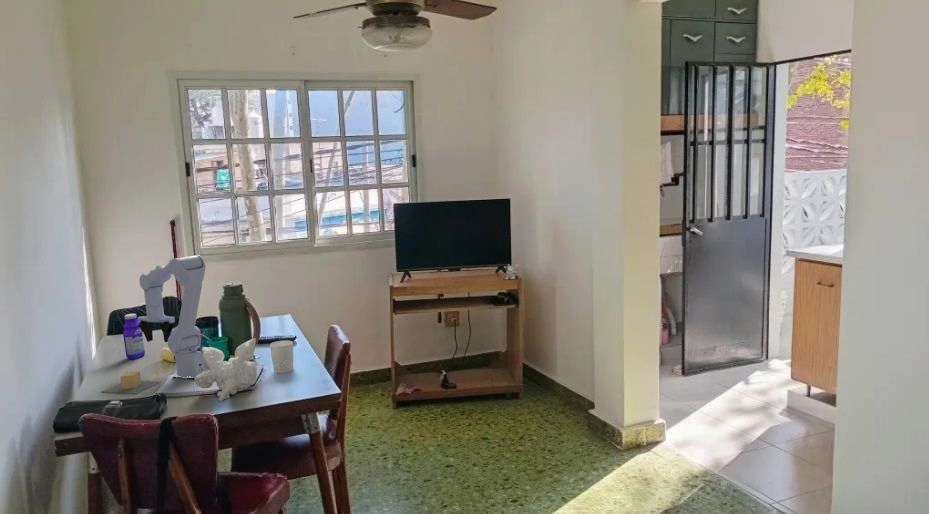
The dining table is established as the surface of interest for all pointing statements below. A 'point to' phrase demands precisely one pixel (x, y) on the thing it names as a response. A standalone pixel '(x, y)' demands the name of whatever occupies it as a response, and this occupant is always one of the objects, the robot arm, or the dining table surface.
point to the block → (130, 380)
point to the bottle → (133, 337)
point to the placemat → (136, 390)
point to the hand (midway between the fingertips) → (158, 341)
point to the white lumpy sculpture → (229, 370)
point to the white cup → (282, 356)
